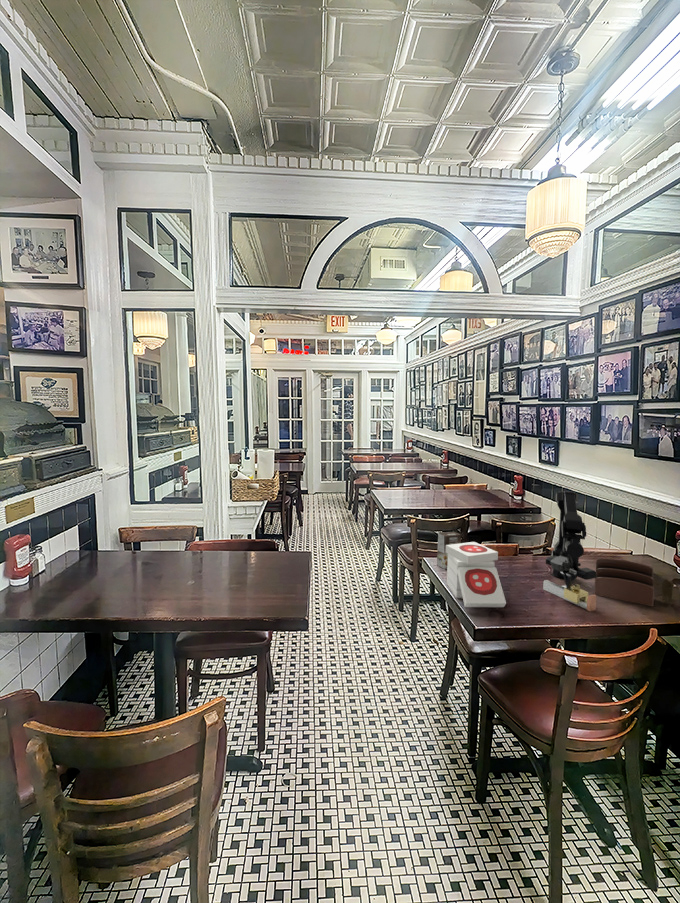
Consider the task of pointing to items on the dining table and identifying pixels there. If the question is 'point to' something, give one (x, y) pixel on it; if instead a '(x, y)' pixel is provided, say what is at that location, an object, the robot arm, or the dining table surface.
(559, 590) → the flange rail
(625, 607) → the dining table surface
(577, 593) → the clip saddle
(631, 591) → the letter holder
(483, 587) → the pizza boxes
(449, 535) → the coffee box
